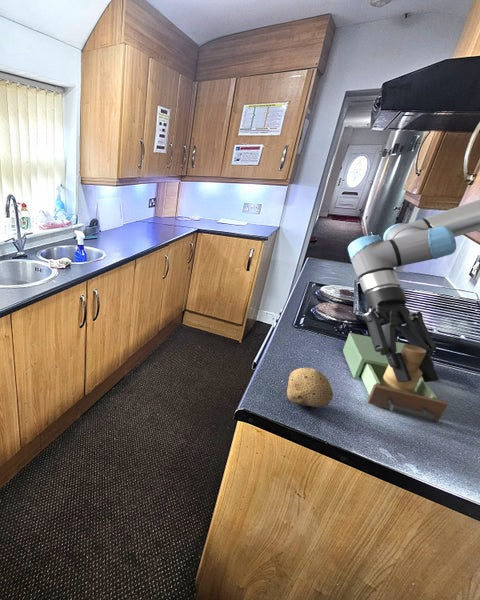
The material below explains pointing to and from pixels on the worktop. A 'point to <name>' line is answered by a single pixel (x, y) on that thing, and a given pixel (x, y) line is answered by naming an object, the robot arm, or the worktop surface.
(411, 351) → the stepped wooden peg
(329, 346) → the worktop surface
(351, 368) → the cabinet
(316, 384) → the natural sponge
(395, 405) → the drawer
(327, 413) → the worktop surface
